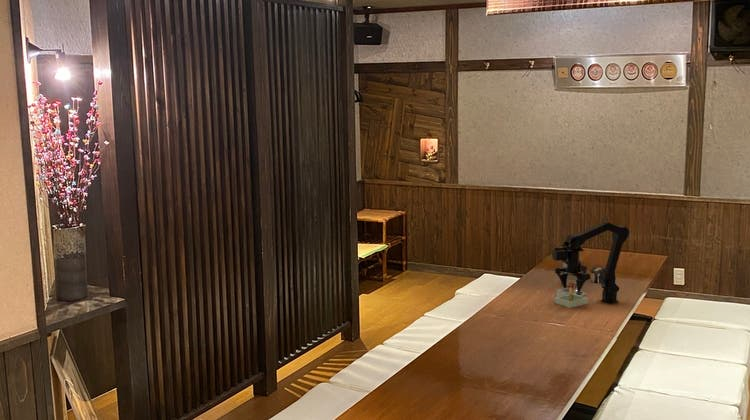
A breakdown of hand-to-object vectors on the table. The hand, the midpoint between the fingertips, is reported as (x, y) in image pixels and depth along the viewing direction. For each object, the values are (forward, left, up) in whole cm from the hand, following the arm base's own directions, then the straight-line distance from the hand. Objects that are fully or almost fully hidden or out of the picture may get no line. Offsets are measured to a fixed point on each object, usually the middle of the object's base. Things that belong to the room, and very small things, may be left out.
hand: (571, 290), depth 362 cm
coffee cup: (+26, -27, -7) cm, 38 cm away
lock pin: (0, 0, -6) cm, 7 cm away
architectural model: (+24, -46, -8) cm, 53 cm away
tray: (0, 0, -7) cm, 7 cm away
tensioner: (+10, -11, -7) cm, 16 cm away
